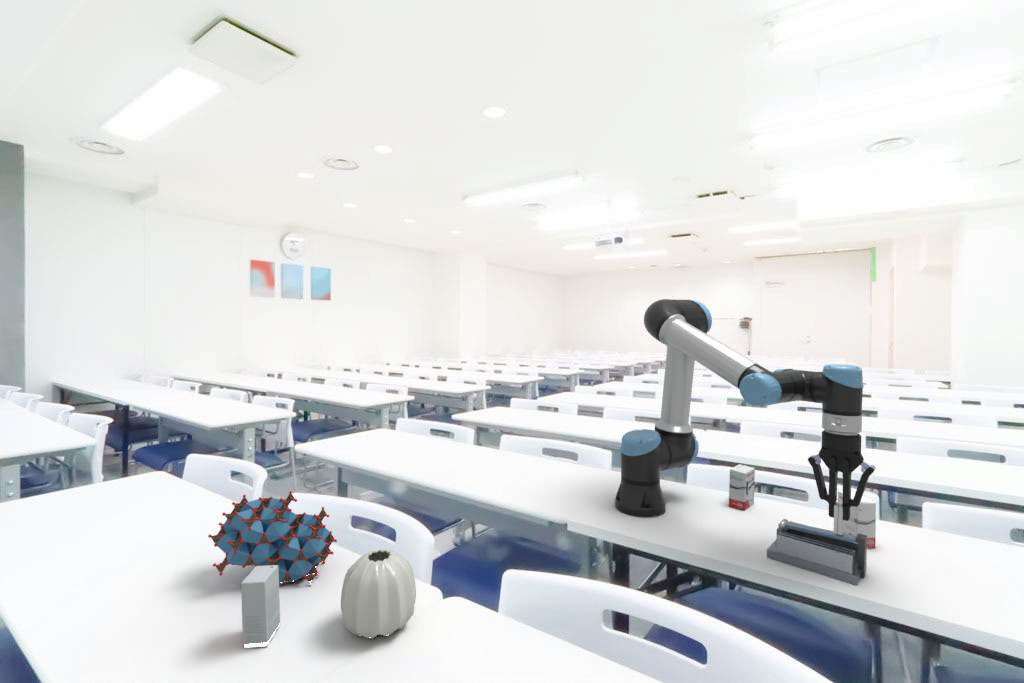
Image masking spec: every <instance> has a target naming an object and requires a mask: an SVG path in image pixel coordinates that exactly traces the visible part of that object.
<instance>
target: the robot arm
mask: <svg viewBox="0 0 1024 683" xmlns="http://www.w3.org/2000/svg"><path fill="white" fill-rule="evenodd" d="M644 312H645V313H644V316H643V324H644V328H645V329H646V331H647V332H648V333H649V335H650V336H652V338H654V339H655V340H656V341H658V342H660V343H661V344H663V345H665V347H666V357H665V368H664V378H663V386H662V387H663V390H662V400H661V408H660V409H661V411H660V419H659V420H658V421H657V422H655V423H654V430H653V429H646V428H644V429H633V430H630V431H627V432H626V433H624V434H623V436H622V437H621V443H620V469H621V470H620V483H619V487H618V489H617V492H616V495H615V499H614V500H615V501H614V504H615V505H614V506H615V508H616V509H617V510H618V511H620V512H621V513H624V514H627V515H630V516H632V517H633V516H634V517H643V518H648V517H649V518H652V517H653V518H654V517H658V516H661V515H663V514H665V513H666V506H667V504H666V500H665V497H664V493H663V490H662V487H661V480H660V479H661V472H663V471H669V470H673V469H679V468H684V467H685V466H687V465H690V464H692V463H694V461H695V460H696V459H697V457H698V454H699V449H700V448H699V447H700V446H699V441H698V439H697V437H696V435H695V433H694V429H693V427H692V426H691V425H690V423H689V422H690V414H691V412H690V411H691V400H692V392H693V391H692V390H693V381H694V372H695V361H696V362H697V363H698V364H700V365H701V366H703V367H705V368H706V369H707V370H708V371H711V372H712V373H714V374H715V375H717V376H718V377H720V378H722V379H723V380H724V381H726V382H728V383H729V384H730V385H731V386H734V387H735V388H736V389H738V390H739V393H740V395H741V397H742V398H743V400H744V401H745V402H746V403H748V404H749V405H750V406H751V405H752V406H761V407H767V406H772V405H777V404H783V403H784V404H785V403H792V402H799V401H800V402H807V403H808V402H810V403H815V404H821V405H822V407H821V409H822V410H821V411H822V412H821V413H822V415H821V428H822V429H823V430H822V431H821V449H820V450H819V451H818V454H815V455H810V456H809V457H808V458H807V462H808V463H809V465H810V466H811V468H812V472H813V476H814V480H815V483H816V487H817V493H818V496H819V498H820V499H821V500H823V501H825V502H827V503H828V516H829V517H830V518H833V531H834V533H835V534H839V535H842V534H843V532H844V520H845V521H848V520H849V518H850V507H852V506H855V507H857V506H858V505H859V504H860V502H861V499H862V496H864V493H865V490H866V487H867V484H868V481H869V478H870V477H871V475H873V473H874V472H875V470H876V467H875V465H872V464H869V463H868V462H866V461H865V459H864V456H863V455H862V435H861V434H860V433H861V432H863V431H862V427H863V426H862V425H863V415H862V414H863V412H862V410H863V394H864V393H863V390H864V383H863V380H864V379H863V370H862V368H861V367H860V366H858V365H855V364H854V365H853V364H841V363H840V364H837V363H836V364H835V363H831V364H828V363H827V364H825V365H824V366H823V368H822V371H813V370H802V369H793V368H778V369H777V368H776V369H775V370H774V371H771V370H769V369H767V368H765V367H763V366H762V365H760V364H759V363H757V362H755V361H754V360H752V359H750V358H748V357H747V356H745V355H743V354H741V353H740V352H738V351H736V350H734V349H733V348H732V347H729V346H728V345H726V344H725V343H723V342H721V341H719V340H717V339H716V338H714V337H712V335H709V334H708V333H709V332H710V330H711V329H712V324H713V317H712V313H711V311H710V310H709V308H708V307H707V306H706V304H704V303H702V302H701V301H698V300H692V299H669V298H663V299H659V300H656V301H654V302H652V303H651V304H649V306H648V307H647V308H646V311H644ZM822 461H823V463H824V465H825V467H827V469H828V475H829V476H828V477H829V479H828V491H827V487H826V482H825V478H824V474H823V471H822V470H823V469H822V465H821V463H822ZM859 466H861V468H860V472H862V474H861V476H860V479H859V482H858V485H857V488H856V490H855V492H856V493H855V496H854V499H851V492H852V475H853V474H852V473H853V472H855V471H856V469H857V468H859ZM839 472H840V473H842V474H841V475H842V491H843V504H842V503H841V504H840V503H838V477H839V476H838V474H839Z"/></svg>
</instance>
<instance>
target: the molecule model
mask: <svg viewBox="0 0 1024 683" xmlns="http://www.w3.org/2000/svg"><path fill="white" fill-rule="evenodd" d="M246 497H247V495H246V494H243V495H242V499H241V501H240V502H239V503H237V502H235V501H233V502H231V504H232V506H233V507H234V508H233V509H232V511H230V513H226V512H225V511H224V512H222V516H225V518H226V520H225V522H224V523H222V522H219V523H218V526H220V529H219V531H218V533H217V534H215V535H212V534H208V536H207V537H208V538H210V539H212V541H213V544H214V545H213V546H214V547H215V548H216V547H217V548H219V549H220V550H221V551H222V552H223V554H225V557H224V558H223V560H222V562H220V563H219V564H217V563H213V564H212V567H213V568H216V570H217V571H218V572H219V574H218V575H219V576H220V577H221V576H223V574H224V573H223V572H224V570H225V568H226V567H227V566H229V565H231V566H238V567H241V568H242V569H245V568H246V567H250V566H251V567H252V566H254V568H255V567H256V566H268V565H278V569H279V583H280V582H283V583H285V582H284V581H293V580H295V581H298V580H301V578H305V579H306V580H307V582H308V581H311V580H313V581H314V579H315V578H316V577H317V576H318V574H317V573H319V572H318V570H317V568H315V566H317V567H318V566H319V565H320V563H321V564H322V565H325V564H326V559H327V558H328V556H329V555H334V551H332V550H331V549H330V547H331V545H332V544H333V542H334V543H337V542H338V539H335V538H334V536H333V531H332V530H329V529H328V528H327V526H326V525H325V524H324V523H323V522H322V521H323V519H325V517H326V518H329V517H330V514H327V512H326V510H325V507H324V506H322V507H321V511H320V512H319V513H318V514H316V513H315V514H313V515H312V514H307V513H306V512H303V513H299V514H296V513H294V512H292V508H289V505H290V504H291V502H292V501H294V502H296V503H297V502H298V499H297V498H295V497H294V496H293V491H291V490H290V491H289V492H288V496H287V498H286V499H284V498H280V499H279V498H273V496H269V497H266V498H265V497H264V498H262V497H261V496H260V497H258V498H257V499H254V500H251V501H248V499H247V498H246ZM322 561H323V562H322ZM312 573H315V574H314V575H308V574H312ZM306 575H308V576H306ZM297 579H298V580H297Z"/></svg>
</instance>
